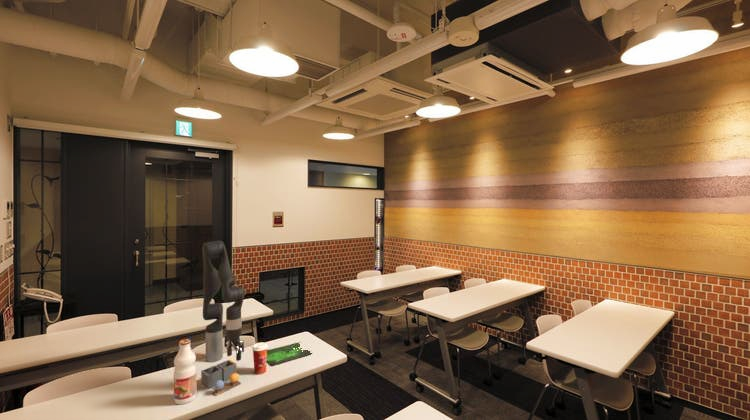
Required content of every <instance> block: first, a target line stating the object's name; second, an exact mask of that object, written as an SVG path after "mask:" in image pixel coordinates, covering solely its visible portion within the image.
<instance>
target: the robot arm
mask: <svg viewBox="0 0 750 420" xmlns="http://www.w3.org/2000/svg"><path fill="white" fill-rule="evenodd" d="M201 249H202V263H203V265H202V266H203V278H202V282H203V283H202V285H203V287H202V290H203V291H202V292H203V302H202V305H203V306H202V318H203V320H204V321H212V320H214V321H213V322H211V323H209V324H207V325H206V327H205V361H206V362H208V363H209V362H210V363H213V362H217V361H220V360H222V359H223V357H224V347H225V348H226V356H227V357H230V356H232V354H233V350H234V351H235V353H236V354H235V360H236V362H239V361H241V359H242V353H244V352H245V345H244V343H245V342H244V340H243V339H242V340H241V339H240V337H241V336H242V332H243V325H242V323H243V321H242V307H243V303H244V300H245V294H246V293H245V289H244V288H243V287H242V286H235V285H236V278H235V276H234V273H233V271H232V267H231V265H230V260H229V256H228V253H227V249H226V246H225V243H224V242H223V241H222V240H214V241H207V242H204V243H203V244H202V248H201ZM216 258H221V260H220V261H221V262H220V264H219V268H218V269H216V268H215V267H214V265H213V264H212V261H211V260H212V259H216ZM220 289H221V298H222V301H223V302H224V303H226V304H229V303H233V304H232V305H229V306H228V307H226V309H225V314H226V315H225V319H226V320H225V335H224V333H223V329H224V327H223V320H224V317H223V316H224V314H223V313H224V306H223V303H221V302H214V303H211V301H212V300H213V298H214V297H215V296H216V295H217V293H218V292H219V290H220ZM223 339H224V340H223ZM223 346H224V347H223Z"/></svg>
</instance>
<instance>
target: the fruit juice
mask: <svg viewBox="0 0 750 420" xmlns="http://www.w3.org/2000/svg"><path fill="white" fill-rule="evenodd" d="M191 341H192V340H191V339H190V338H185V339H181V340H179V342H178V346H179V349H178V352H177V354H176V355H175V357H174V358H173V359H174V360H173V365H174V370H173V401H174V403H175V404H176V405H185V404H188V403H190V402H192V401H194V400H195V399H196V398H197V394H198V393H197V392H198V389H197V382H198V381H197V366H196V360H197V356H196V353H195V352H194V351H193V350H192V348H191V344H192V342H191Z"/></svg>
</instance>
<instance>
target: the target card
mask: <svg viewBox="0 0 750 420" xmlns="http://www.w3.org/2000/svg"><path fill="white" fill-rule="evenodd" d="M230 382H231V381H230V379H229V380H227V381H225V382H224V386H223V387H225V386H227V385H229V384H230ZM211 389H212V390H215V388H214V387H212V388H211Z"/></svg>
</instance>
